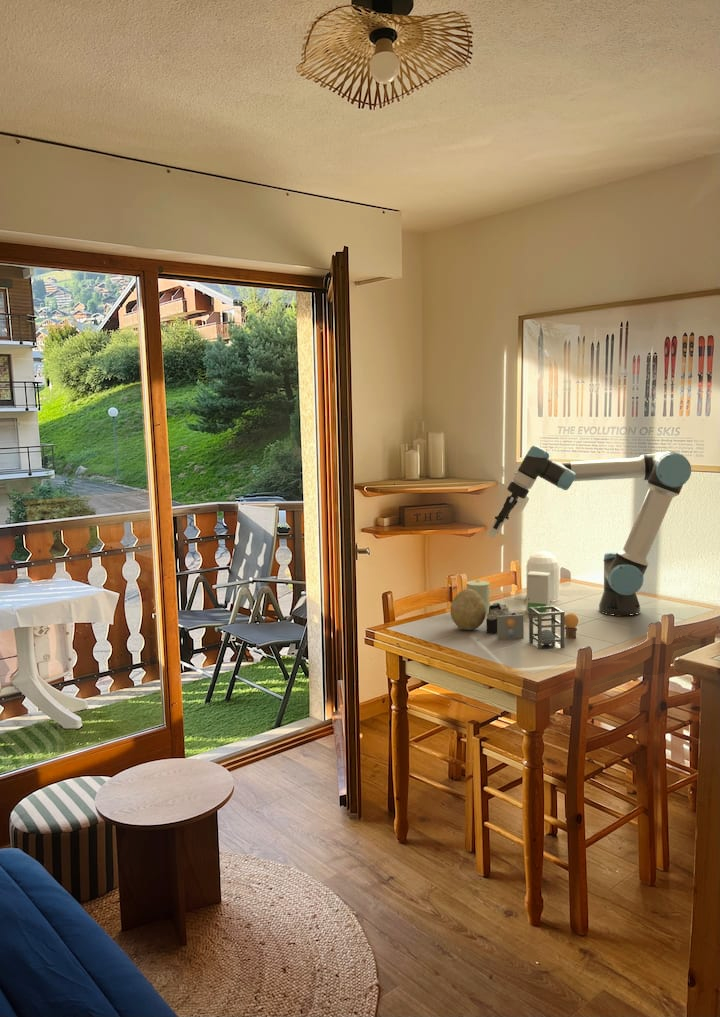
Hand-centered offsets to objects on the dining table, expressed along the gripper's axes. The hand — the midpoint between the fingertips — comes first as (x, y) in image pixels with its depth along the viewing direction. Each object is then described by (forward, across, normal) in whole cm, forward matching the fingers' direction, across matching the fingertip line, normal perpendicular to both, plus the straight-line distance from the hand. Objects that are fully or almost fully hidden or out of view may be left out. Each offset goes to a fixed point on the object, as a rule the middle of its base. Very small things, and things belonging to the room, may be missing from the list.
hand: (492, 534), depth 294 cm
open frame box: (+19, +33, +35) cm, 52 cm away
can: (+31, -10, +10) cm, 34 cm away
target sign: (+25, +28, +24) cm, 44 cm away
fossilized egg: (+32, +16, +10) cm, 38 cm away
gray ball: (+18, +33, +35) cm, 52 cm away
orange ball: (+11, +24, +40) cm, 47 cm away
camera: (+26, +17, +21) cm, 38 cm away
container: (+19, -36, +30) cm, 50 cm away
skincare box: (+20, -12, +30) cm, 38 cm away
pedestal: (+15, +23, +42) cm, 50 cm away
